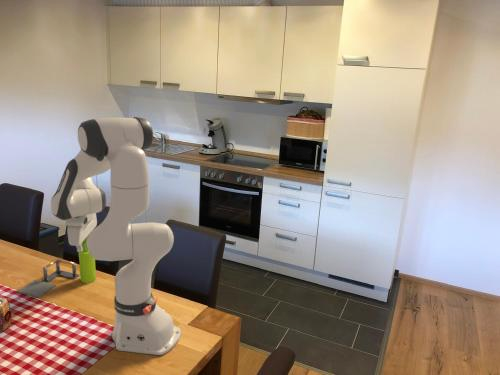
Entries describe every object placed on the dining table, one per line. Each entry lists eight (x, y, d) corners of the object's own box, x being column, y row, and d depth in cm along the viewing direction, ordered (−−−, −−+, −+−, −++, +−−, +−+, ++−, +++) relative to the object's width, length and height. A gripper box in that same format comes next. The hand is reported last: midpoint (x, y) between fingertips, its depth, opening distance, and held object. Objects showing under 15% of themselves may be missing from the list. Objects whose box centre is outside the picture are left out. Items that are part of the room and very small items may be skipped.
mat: (55, 286, 164) (55, 284, 164) (38, 297, 156) (38, 296, 156) (35, 281, 167) (34, 279, 167) (17, 292, 158) (16, 290, 158)
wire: (79, 275, 173) (78, 261, 171) (63, 286, 164) (62, 271, 162) (58, 271, 175) (56, 257, 173) (41, 281, 167) (40, 266, 165)
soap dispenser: (75, 279, 170) (72, 234, 164) (92, 274, 174) (89, 230, 168) (81, 285, 166) (78, 239, 160) (98, 280, 170) (95, 235, 164)
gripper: (84, 203, 171) (86, 234, 176) (63, 223, 152) (66, 257, 156) (99, 204, 171) (101, 235, 176) (80, 224, 152) (83, 258, 156)
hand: (84, 245), depth 166 cm, fingers open, 8 cm apart
